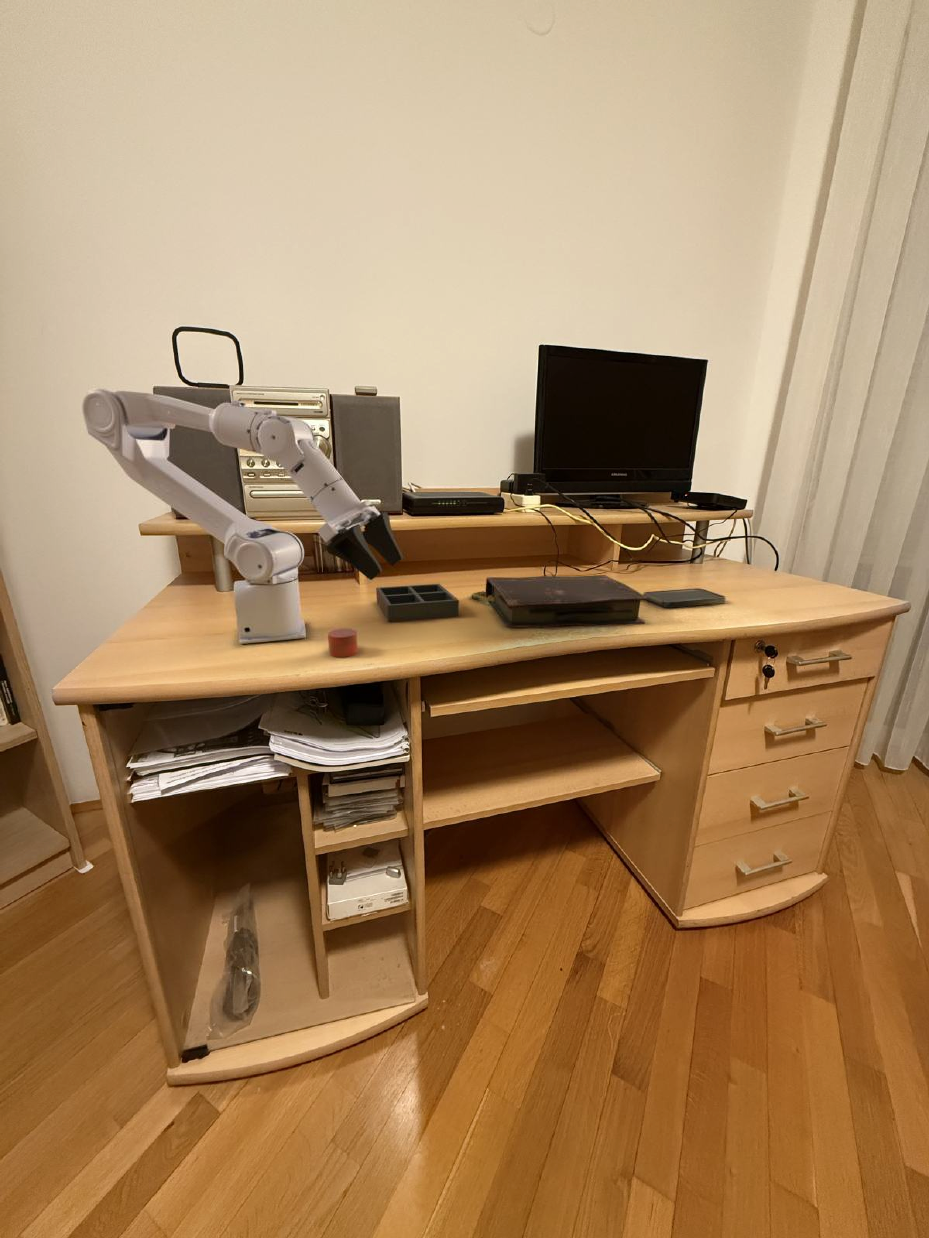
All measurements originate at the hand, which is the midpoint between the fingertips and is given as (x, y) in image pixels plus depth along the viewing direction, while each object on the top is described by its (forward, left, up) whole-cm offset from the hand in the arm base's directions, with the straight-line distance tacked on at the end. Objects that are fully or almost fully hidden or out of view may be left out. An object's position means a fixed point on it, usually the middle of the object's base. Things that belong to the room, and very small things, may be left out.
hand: (387, 568), depth 71 cm
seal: (+27, +17, -12) cm, 34 cm away
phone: (+62, +7, -12) cm, 63 cm away
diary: (+33, +7, -12) cm, 36 cm away
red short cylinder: (-7, -2, -12) cm, 14 cm away
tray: (+8, +16, -12) cm, 21 cm away
